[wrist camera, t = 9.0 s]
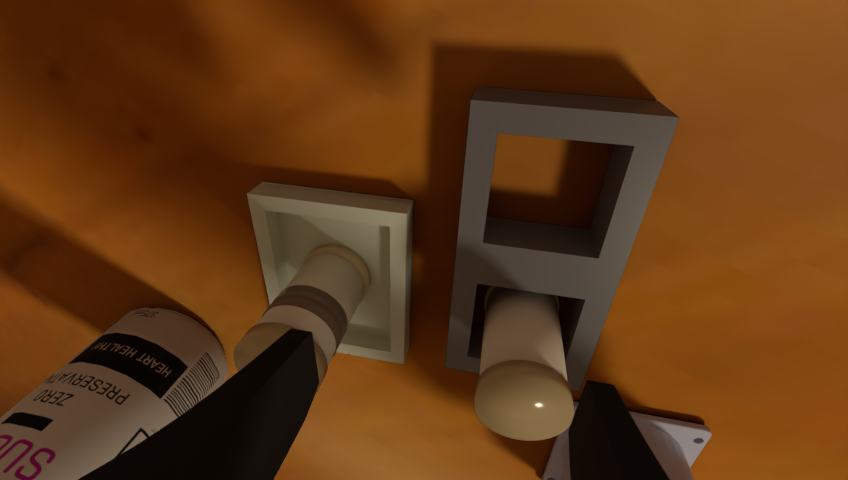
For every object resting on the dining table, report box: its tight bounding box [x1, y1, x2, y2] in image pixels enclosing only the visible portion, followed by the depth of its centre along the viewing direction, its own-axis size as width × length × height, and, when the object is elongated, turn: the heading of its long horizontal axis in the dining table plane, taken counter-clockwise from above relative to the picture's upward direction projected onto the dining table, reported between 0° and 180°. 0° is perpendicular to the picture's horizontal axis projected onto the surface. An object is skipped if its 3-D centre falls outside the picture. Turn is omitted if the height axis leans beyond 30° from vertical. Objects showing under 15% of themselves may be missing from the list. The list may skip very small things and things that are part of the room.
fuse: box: [474, 285, 574, 441], centre depth 19 cm, size 4×4×7 cm
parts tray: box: [247, 182, 414, 364], centre depth 23 cm, size 10×8×2 cm
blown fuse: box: [234, 244, 371, 392], centre depth 20 cm, size 4×4×7 cm
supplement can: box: [0, 308, 228, 480], centre depth 23 cm, size 8×8×15 cm
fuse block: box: [445, 86, 680, 391], centre depth 19 cm, size 14×7×2 cm, turn 178°
